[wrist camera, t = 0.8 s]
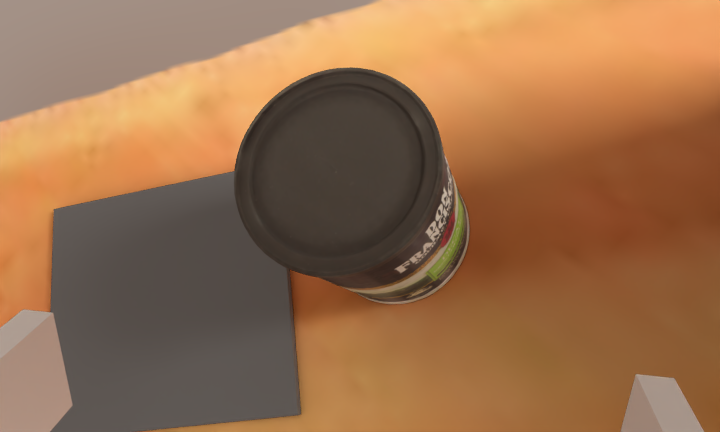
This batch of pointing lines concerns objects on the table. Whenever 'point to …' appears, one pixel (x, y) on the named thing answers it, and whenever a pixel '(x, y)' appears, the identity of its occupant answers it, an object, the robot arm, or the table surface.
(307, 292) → the table surface
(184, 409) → the rubber mat
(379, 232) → the coffee can
